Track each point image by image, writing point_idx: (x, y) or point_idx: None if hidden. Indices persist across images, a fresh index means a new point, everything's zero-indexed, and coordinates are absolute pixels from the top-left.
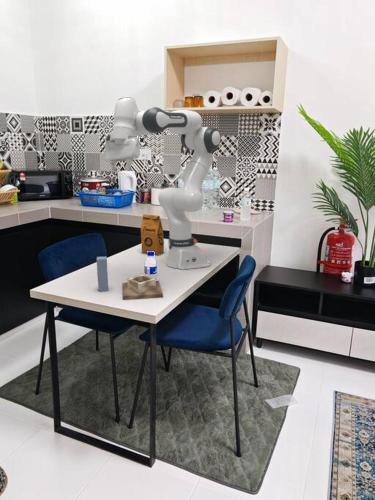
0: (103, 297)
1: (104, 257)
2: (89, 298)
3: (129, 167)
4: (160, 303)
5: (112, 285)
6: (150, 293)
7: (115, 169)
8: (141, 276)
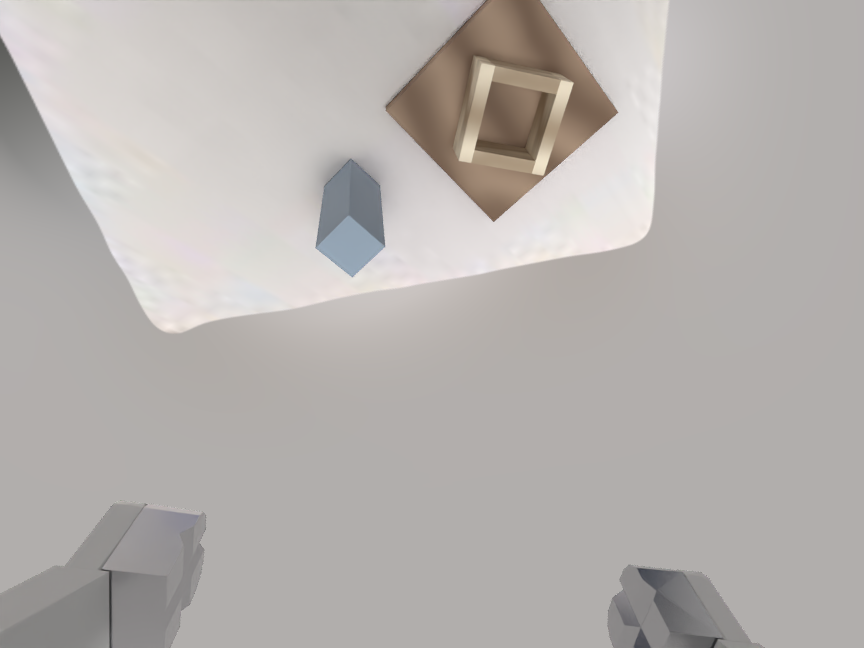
0: (415, 239)
1: (354, 232)
2: (381, 272)
3: (722, 627)
4: (629, 162)
5: (344, 128)
6: (570, 139)
7: (178, 562)
8: (489, 88)
